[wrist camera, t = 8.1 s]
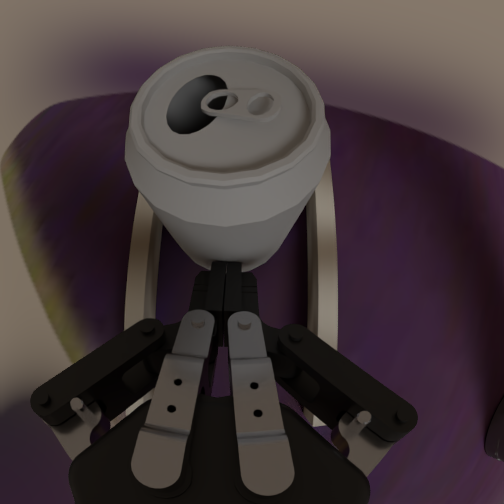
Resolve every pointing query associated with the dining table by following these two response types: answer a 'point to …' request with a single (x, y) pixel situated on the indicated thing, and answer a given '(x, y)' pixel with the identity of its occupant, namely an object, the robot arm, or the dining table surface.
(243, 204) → the can
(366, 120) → the dining table surface
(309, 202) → the wooden frame
